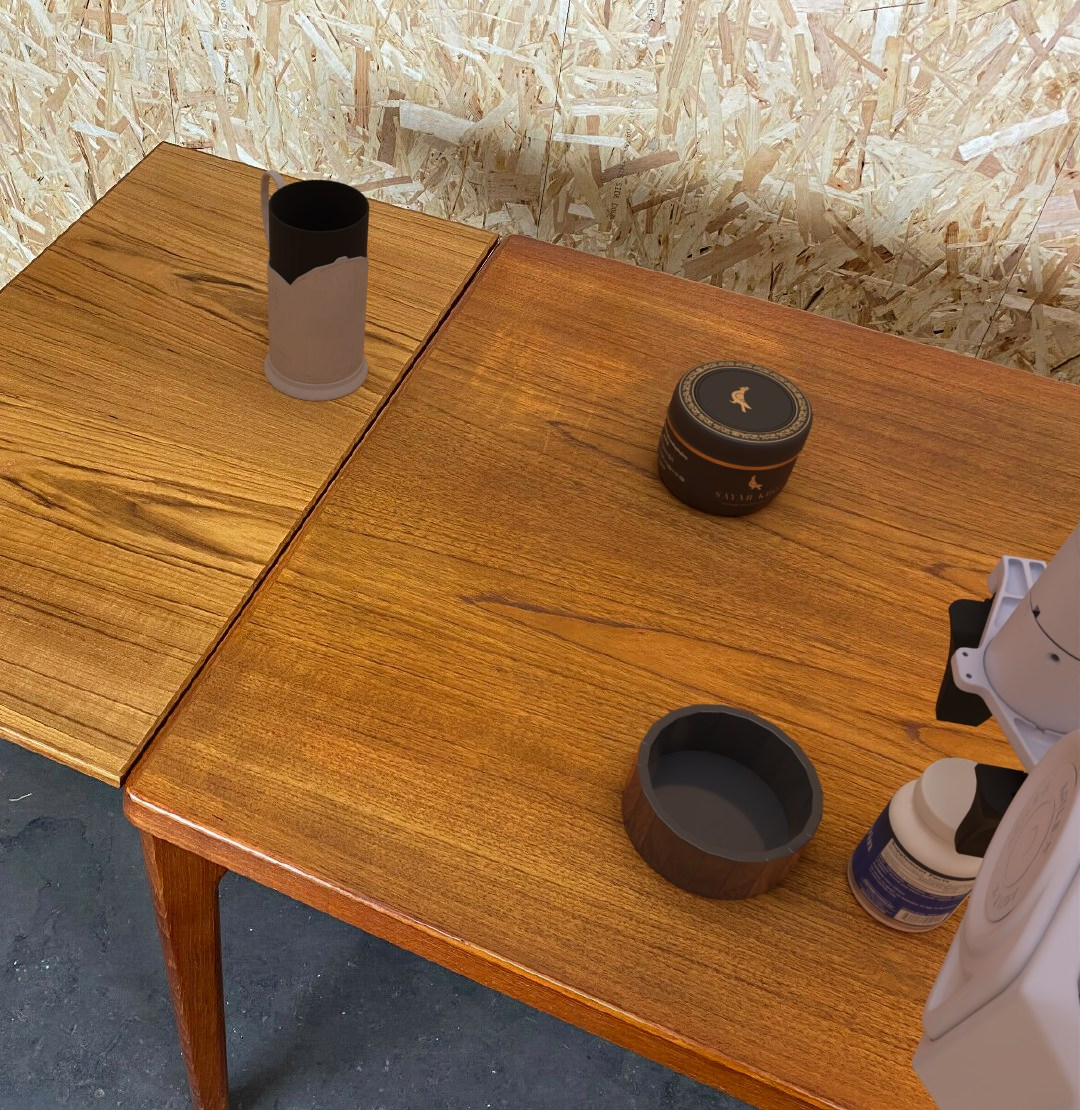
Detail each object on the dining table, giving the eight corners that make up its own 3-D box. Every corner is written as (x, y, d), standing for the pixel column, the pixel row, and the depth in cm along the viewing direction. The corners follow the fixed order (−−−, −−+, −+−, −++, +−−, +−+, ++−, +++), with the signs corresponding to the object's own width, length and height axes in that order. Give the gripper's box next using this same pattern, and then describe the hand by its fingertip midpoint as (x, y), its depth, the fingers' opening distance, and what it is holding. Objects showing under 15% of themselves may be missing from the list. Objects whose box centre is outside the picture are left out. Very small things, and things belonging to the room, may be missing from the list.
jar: (680, 530, 84) (708, 452, 78) (630, 441, 90) (653, 363, 85) (805, 514, 85) (841, 437, 80) (747, 427, 92) (777, 350, 86)
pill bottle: (879, 824, 67) (950, 728, 60) (968, 894, 65) (1054, 802, 57) (823, 881, 65) (890, 788, 58) (914, 957, 62) (996, 869, 55)
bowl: (832, 871, 65) (861, 832, 62) (675, 922, 63) (696, 884, 60) (737, 729, 72) (758, 686, 68) (591, 769, 69) (606, 727, 66)
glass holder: (291, 412, 91) (291, 248, 80) (220, 317, 100) (211, 157, 89) (387, 383, 94) (399, 220, 83) (310, 293, 103) (312, 134, 92)
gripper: (976, 481, 53) (871, 653, 63) (1031, 750, 43) (897, 899, 54) (1140, 505, 52) (1006, 675, 62) (1232, 785, 42) (1056, 930, 53)
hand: (965, 781), depth 58 cm, fingers open, 7 cm apart
